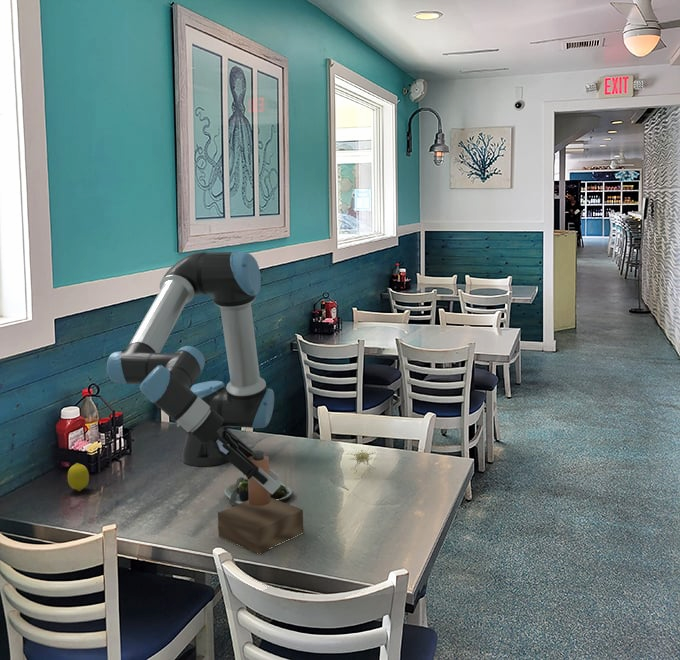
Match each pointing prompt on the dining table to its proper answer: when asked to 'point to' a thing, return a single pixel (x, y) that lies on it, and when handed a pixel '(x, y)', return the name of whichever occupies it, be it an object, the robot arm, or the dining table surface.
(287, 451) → the dining table surface
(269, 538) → the walnut block
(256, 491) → the sauce bottle
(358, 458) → the beige splat shape
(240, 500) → the salad plate
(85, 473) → the lemon
